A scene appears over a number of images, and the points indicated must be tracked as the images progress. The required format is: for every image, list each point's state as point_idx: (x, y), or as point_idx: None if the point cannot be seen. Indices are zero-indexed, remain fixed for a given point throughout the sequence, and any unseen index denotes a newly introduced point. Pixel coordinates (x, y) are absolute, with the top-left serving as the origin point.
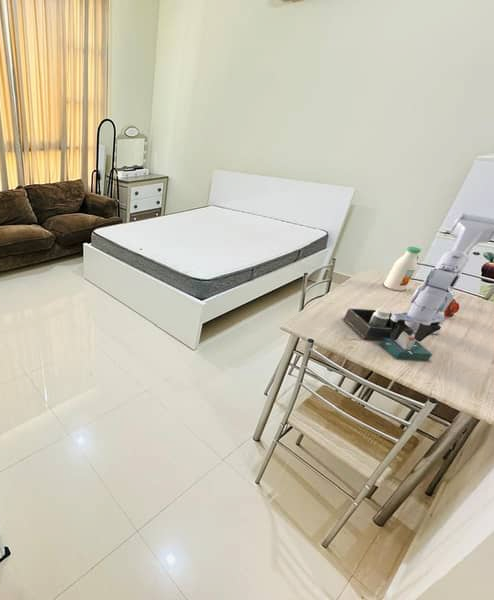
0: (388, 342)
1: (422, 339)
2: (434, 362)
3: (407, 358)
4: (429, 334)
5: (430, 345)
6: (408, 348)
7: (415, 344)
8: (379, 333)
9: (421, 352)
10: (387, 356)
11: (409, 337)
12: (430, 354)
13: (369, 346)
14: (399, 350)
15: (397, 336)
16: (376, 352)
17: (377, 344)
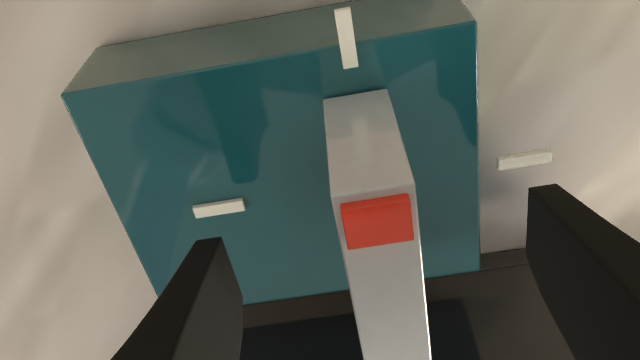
0: (478, 201)
1: (189, 265)
2: (32, 39)
3: (323, 11)
4: (120, 352)
5: (2, 308)
6: (354, 104)
7: (194, 237)
8: (492, 321)
9: (191, 87)
10: (523, 3)
11: (382, 254)
12: (84, 85)
13: (601, 144)
14: (466, 51)
15: (593, 222)
16: (602, 51)
17: (489, 200)
